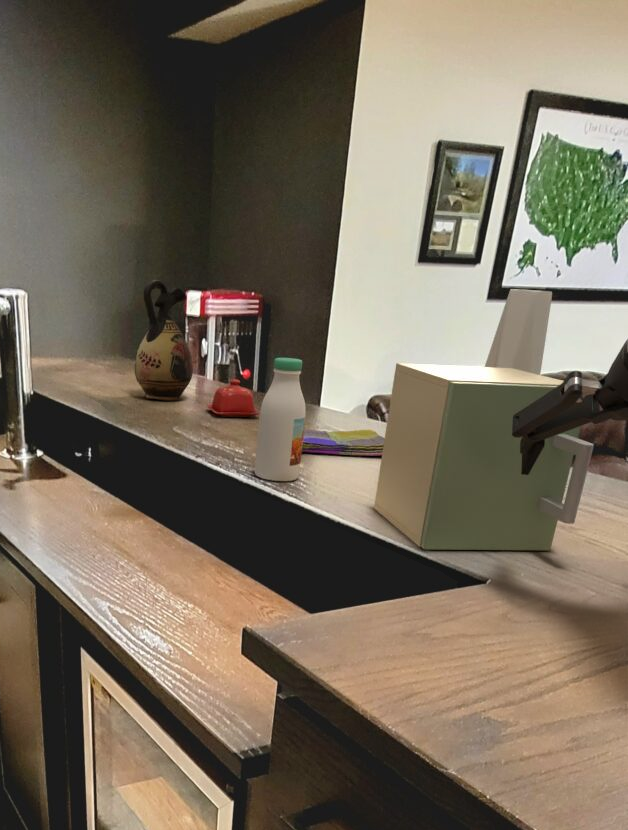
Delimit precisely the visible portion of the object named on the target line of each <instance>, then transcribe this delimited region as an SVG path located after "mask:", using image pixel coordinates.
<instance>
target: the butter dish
mask: <svg viewBox="0 0 628 830" xmlns="http://www.w3.org/2000/svg"><path fill="white" fill-rule="evenodd" d="M240 383H241V381H240V380H239V379H237V378H233V379H230V380H229V384H230V385H226V386H221V387H219V388H217V389H216V390H215V392H214V395H213V399H212V404H206V405H205V406H206V408H208V409H209V410H211V411H212V412H213V413H214V414H216V415H219V416H220V417H225V418H226V417H233V418H235V417H236V418H239V417H240V418H251V417H252V416H257V415H260V411H259V410H257V409H256V408H255V402H254V396H253V393H252V391H250V390H249V389H248V388H246V387H242V386H240Z"/></svg>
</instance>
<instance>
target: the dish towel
mask: <svg viewBox="0 0 628 830" xmlns="http://www.w3.org/2000/svg"><path fill="white" fill-rule="evenodd" d="M384 440H385V437H383V436H382V435H379V434H378V433H377V432H376V430H375V431H374V430H372V429H359V430H356V429H355V430H347V431H344V430H342V431H340V430H339V431H337V430H333V431H327V430H315V429H308V428H307V429H306V428H304V436H303V445H302V453H317V454H327V455H329V454H330V455H342V456H343V455H346V456H364V457H365V456H366V457H371V456H372V457H374V456H375V457H382V453H383V446H384Z"/></svg>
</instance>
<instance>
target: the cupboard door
mask: <svg viewBox="0 0 628 830" xmlns="http://www.w3.org/2000/svg"><path fill="white" fill-rule="evenodd" d="M556 387H557V386H542V385H518V384H494V383H471V382H450V386H449V391H448V397H447V402H446V408H445V414H444V419H443V425H442V430H441V436H440V441H439V447H438V453H437V458H436V464H435V469H434V475H433V481H432V486H431V492H430V497H429V503H428V508H427V514H426V520H425V525H424V531H423V536H422V542H421V547H420V548H422V550H441V551H442V550H443V551H444V550H446V551H447V550H455V551H456V550H457V551H459V550H461V551H463V550H464V551H467V550H468V551H551V550H552V546H553V542H554V537H555V533H556V528H557V524H558V521H559V522H561V523H564V524H569V525H573V524H575V522H576V518H577V514H578V510H579V506H580V502H581V498H582V494H583V490H584V486H585V483H586V478H587V475H588V470H589V466H590V462H591V458H592V454H593V450H594V446H595V445H594V443H591V442H589V441H586V440H584V439H580V438H579V435H580V430H581V426H579V427H577V428H574V429H571V430H569V431H566V432H563V433H560V434H558V435H555V436H552V437H550V438H547V439H545V446H544V448H543V449H542V451H541V453H540V455H539V456H538V458H537V460H536V462H535V464H534V465H533V467H532V469H531V471H530V473H529V474H528V475H523V474H521V469H522V454H521V453H520V441H521V439H522V437H519V438H516V437H513V436H512V424H513V416H514V415H515V414H516V413H518V412H519V411H521V410H522V409H524V408H525V407H527V406H528V405H530V404H532V403H533V402H535V401H536V400H538V399H539V398H541V397H542V396H544V395H545V394H547V393H548V392H550V391H551V390H553V389H554V388H556ZM583 398H584V397H583ZM583 398H582V399H583ZM574 456H575V457H574ZM573 458H574V460H573ZM572 463H573V466H572ZM571 467H572V470H571ZM570 471H571V473H570ZM569 474H570V475H569ZM569 476H570V477H569ZM568 479H569V482H568ZM567 483H568V485H567ZM566 487H567V489H566ZM565 493H566V495H565ZM564 496H565V497H564ZM563 500H564V502H563Z"/></svg>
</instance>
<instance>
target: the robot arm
mask: <svg viewBox="0 0 628 830" xmlns="http://www.w3.org/2000/svg"><path fill="white" fill-rule="evenodd" d="M562 381H563V383H562V384H561V385H559V386H557V387H556V388H554V389H553V390H551V391H550V392H548V393H547V394H545V395H544V396H542V397H541V398H539V399H538V400H536V401H535V402H533V403H532V404H530V405H528V406H527V407H525V408H524V409H522V410H521V411H519V412H518V413H516V414H515V415H514V416H513V424H512V436H513V437H516V438H519V437H522V439H521V441H520V453H521V454H522V469H521V474H523V475H528V474H529V473H530V471H531V469H532V467H533V465H534V464H535V462H536V460H537V458H538V456H539V455H540V453H541V451H542V449H543V448H544V446H545V439H547V438H550V437H552V436H555V435H558V434H560V433H563V432H566V431H569V430H571V429H574V428H577V427H579V426H580V427H582V426H584V425H587V424H591V423H592V424H593V425H598V424H601V423H604V422H606V421H609V420H612V421H628V338H627V339H626V340H625V342H624V343H623V345H622V347H621V348H620V350H619V352H618V353H617V355H616V356H615V358H614V360H613V362H612V363H611V366H610V367H609V370H608V372H607V373H606V374H605V375H604V376H602V377H600V378H599V379H598V380H594V379H587V378H583V373H582V372H581V371H579V370H573V371H571V372H569V373H568V375H567V376H566V378H564V380H562ZM583 397H584V398H583ZM582 398H583V399H582ZM601 408H602V409H601Z"/></svg>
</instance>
